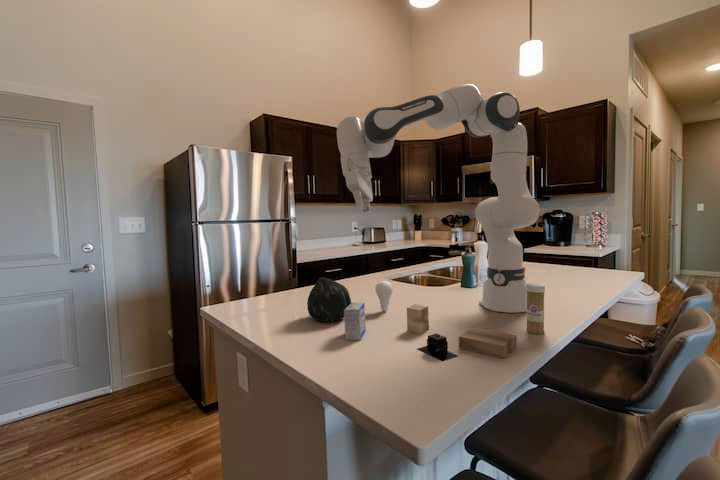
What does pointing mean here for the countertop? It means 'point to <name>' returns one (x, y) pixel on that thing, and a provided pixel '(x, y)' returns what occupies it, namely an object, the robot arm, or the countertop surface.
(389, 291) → the lightbulb
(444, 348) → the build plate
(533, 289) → the sprinkles bottle
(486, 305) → the robot arm
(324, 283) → the squash
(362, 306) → the medicine box
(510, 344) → the walnut base block
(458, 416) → the countertop surface
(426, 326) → the oak block
